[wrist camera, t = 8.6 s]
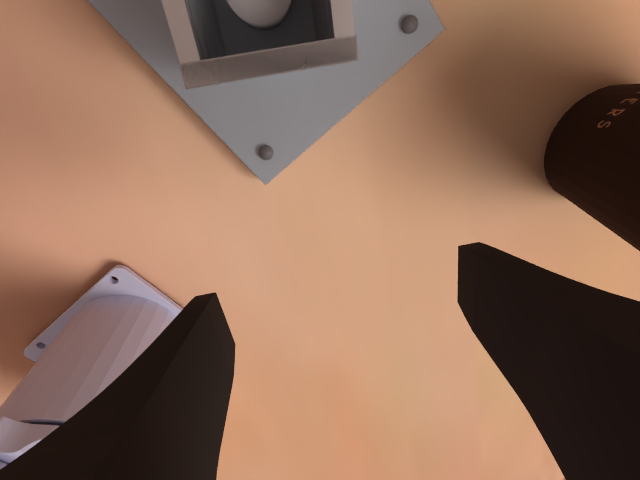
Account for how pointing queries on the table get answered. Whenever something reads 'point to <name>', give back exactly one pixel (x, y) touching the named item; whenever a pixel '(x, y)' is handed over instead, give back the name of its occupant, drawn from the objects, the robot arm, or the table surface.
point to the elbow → (216, 67)
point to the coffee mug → (600, 158)
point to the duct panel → (287, 88)
